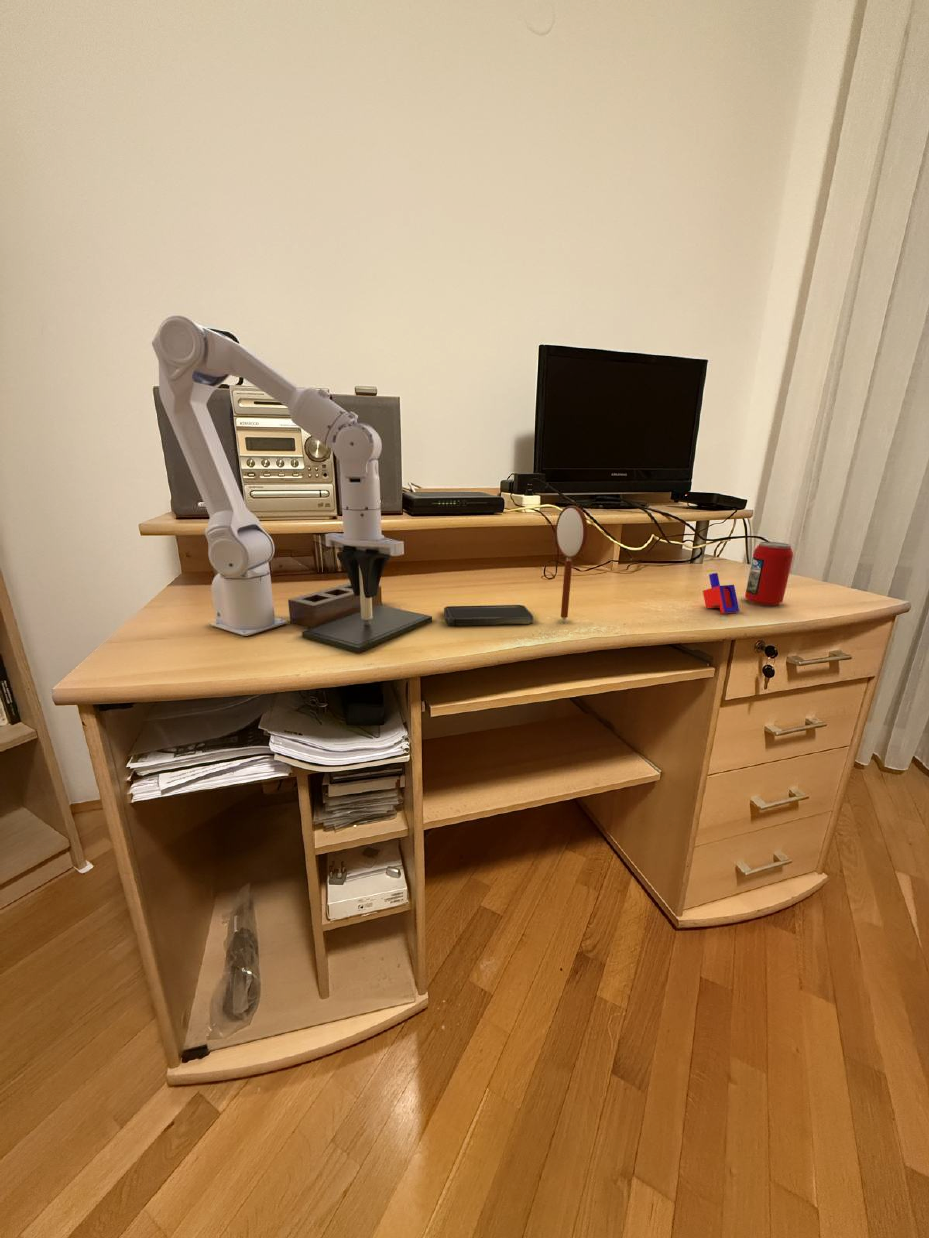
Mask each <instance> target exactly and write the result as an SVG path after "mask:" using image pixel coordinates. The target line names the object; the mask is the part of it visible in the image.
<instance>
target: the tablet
mask: <svg viewBox="0 0 929 1238" xmlns="http://www.w3.org/2000/svg"><path fill="white" fill-rule="evenodd" d="M432 622H433V616H432V615H429V614H424V613H418V612H415V611H409V610H405V609H401V608H396V607H393V606H387V605H383V604H382V605H378V606H375V607H372V619H370V625H364V620H363V619H361V611H360V612H357V613H354V614H352V615H349V616H346V617H343V618H340V619H337V620H334V621H331V622H328V623H325V624H322V625H320V626H317V627H314V628H311V627H310V628H308V629H305V630H302V631H301V638H303V639H306V640H310V641H313V642H317V643H320V644H324V645H326V646H327V645H328V646H330V647H334V648H337V649H340V650H343V651H347V652H351V653H354V654H358V655H360V654H362V653H364V652H366V651H369V650H371V649H374V648H376V647H378V646H380V645H383V644H385V643H386V642H387V643H388V642H389V641H391V640H394V639H397V638H398V637H401V636H403V635H405V634H407V633H410V632H412V631H414V630H417V629H418V628H421V627H423V626H426V625H428V624H430V623H432Z"/></svg>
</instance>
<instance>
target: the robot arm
mask: <svg viewBox="0 0 929 1238" xmlns="http://www.w3.org/2000/svg"><path fill="white" fill-rule="evenodd" d="M151 346H152V348H153V351H154V353H155V356H156V358H157V360H158V388H159V389H158V392H159V397H160V401H161V403H162V405H163V408H164V410H165V413H166V415H167V417H168V420H169V422H170V425H171V428H172V429H173V430H172V431H173V432H174V435H175V437H176V440H177V441H178V444H179V447H180V449H181V451H182V454H183V456H184V458H185V461H186V464H187V466H188V469H189V470H190V473H191V475H192V477H193V478H192V479H193V480H194V482H195V485H196V488H197V490H198V492H199V494H200V497H201V499H202V502H203V504H204V506H205V509H206V511H207V514H208V516H209V520H208V522H207V525H206V527H205V531H204V536H205V538H206V540H207V543H208V545H207V546H208V549H207V550H208V552H207V554H208V555H207V556H208V559H209V562H210V564H211V567H213V569H214V570H216V572H218V573H217V574H216V575H215V576H214V577H213V580H212V582H211V587H210V589H211V590H210V591H211V598H212V603H213V612H214V617H215V621H212V622H211V623H210V625H211V627H215V628H218V629H221V630H225V631H227V632H230V633H234V634H237V635H240V636H244V637H248V636H251V635H255V634H258V633H262V632H264V631H267V630H271V629H273V628H277V627H281V626H283V625H286V624H287V623H288V621H287V620H286V619H283V618H280V617H279V618H278V617H276V615H275V614H276V613H275V606H274V597H273V587H272V578H271V570H270V561H271V560H272V559H273V557H274V555H275V550H276V549H275V544H274V540H273V538H272V537H271V535H270V534H269V533H268V532H267V531H266V530H265V529H264V528H263V526H262V524H261V521H260V519H259V518H258V517H257V516H256V515H255V514H254V513H253V512H252V511H250V510H249V509H248V508H247V505H246V503H245V501H244V498H243V495H242V492H241V491H240V488H239V486H238V483H237V481H236V478H235V475H234V473H233V469H232V467H231V466H230V465H231V464H230V462H229V461H228V458H227V455H226V453H225V450H224V448H223V445H222V443H221V440H220V437H219V434H218V432H217V430H216V427H215V424H214V422H213V420H212V417H211V414H210V412H209V409H208V406H207V404H208V402H209V399H210V398H211V396H212V394H213V393H214V392H215V391H216V390H217V389H218V388H219V387H220V386H221V385H222V384H223V383H225V382H226V380H227V379H228V378H230V377H231V376H232V377H235V378H242V379H243V380H245V381H247V382H249V383H250V384H251V385H253V386H254V387H256V388H257V389H258V390H261V392H263V393H265V394H266V395H268V396H269V397H271V398H272V399H274V400H275V401H276V402H278V403H280V404H281V405H283V406H284V407H286V408H287V410H288V413H289V416H290V420H291V422H292V423H293V424H295V425H296V426H297V427H299V428H300V429H302V430H303V431H304V432H306V433H307V434H308V435H310V436H311V437H312V438H314V439H315V440H316V441H318V442H320V443H321V444H323V445H324V446H325V447H327V449H332V452H333V454H334V456H335V457H336V458H337V460H338V461H339V473H340V477H339V480H340V495H341V497H340V498H341V513H342V529H343V530H342V531H343V533H339V532H332V533H331V532H330V533H326V534H325V535H324V536H325V546H326V547H330V548H331V547H336V548H342V550H341V551H338V552H336V558H337V559H338V560H339V562H340V564H341V565H342V567H343V568H344V571H345V572H346V575H347V577H348V580H349V583H351V586H352V589H353V592H354V595H355V596H359V595H360V583H359V567H360V570H361V574H362V579H363V590H364V595H365V598H371V597H374V596H377V592H378V587H379V586H380V582H381V578H382V575H383V572H384V569H385V567H386V565H387V563H388V561H389V560H390V558H391V556H392V557H399V556H402V555H405V546H404V545H405V544H404V543H405V542H404V541H401V540H395V539H392V538H388V537H385V535H384V534H382V510H381V486H380V485H381V484H380V483H381V481H380V476H379V473H380V472H379V460H378V459H379V458H380V456H381V453H382V449H383V443H382V439H381V437H380V435H379V433H378V432H377V431H376V430H375V429H374V428H373V426H372V425H371V424H368V423H364V422H363V423H362V422H361V423H359V422H358V418H359V415H358V414H356V413H355V412H354V411H349V412H348V411H347V410H346V409H344V408H342V406H340V405H338V404H337V403H336V402H334V401H333V400H332V399H330V398H331V393H329V392H328V391H327V390H325V389H324V388H319V389H316V387H314V386H308V387H304V388H300V387H298V386H297V385H296V384H294V383H293V382H292V381H291V380H290V379H288V378H287V377H285V376H284V375H283V374H282V373H280V372H279V371H278V370H276V369H275V368H273V367H272V366H271V365H270V364H269V363H268V362H266V361H265V360H264V359H262V358H261V357H260V356H259V355H257V354H256V353H254V352H253V351H252V350H251V349H249V348H248V347H246V346H244V345H243V344H240V343H239V342H236V341H234V340H233V339H231V338H229V337H227V336H226V335H225V334H223V333H221V332H219V331H214V330H212V329H209V328H207V327H205V326H202V325H200V324H198V323H196V322H194V321H193V320H192V319H190V318H188V317H186V316H183V315H171V316H168V317H166V318H165V319H164V320H163V321H161V323H160V325H159V326H158V328H157V331H156V333H155V335H154V337H153V339H152V341H151Z"/></svg>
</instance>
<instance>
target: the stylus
mask: <svg viewBox="0 0 929 1238" xmlns="http://www.w3.org/2000/svg"><path fill="white" fill-rule="evenodd" d="M359 583H360V604H361V619H363V620H364V625H370V619H372V597H371V598H365V595H364V590H363V579H362V574H361V570H360V567H359Z"/></svg>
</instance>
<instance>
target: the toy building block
mask: <svg viewBox="0 0 929 1238" xmlns="http://www.w3.org/2000/svg"><path fill="white" fill-rule="evenodd" d="M708 577H709V583H710V587H711V588H708V589H703V590H702V594H703V599H704V600H703V601H704V605H705V608H706V609H711V608H712V609H713V608H719V610H720V614H721V615H723V614H732V613H733V614H734V613H739V612H740V607H739V603H738V599H737V598H738V597H737V592H736V587H735V584H725V585H724V584H723V585H721V583H720V579H719V578H720V577H719V574H718V573H717V572H714V573H709V574H708Z"/></svg>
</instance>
